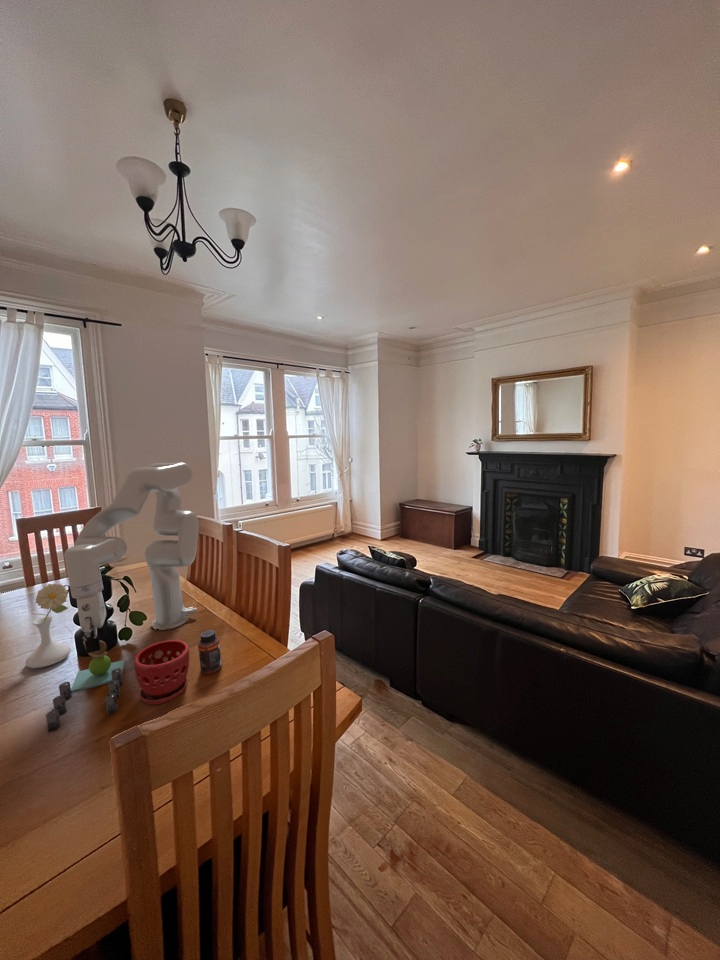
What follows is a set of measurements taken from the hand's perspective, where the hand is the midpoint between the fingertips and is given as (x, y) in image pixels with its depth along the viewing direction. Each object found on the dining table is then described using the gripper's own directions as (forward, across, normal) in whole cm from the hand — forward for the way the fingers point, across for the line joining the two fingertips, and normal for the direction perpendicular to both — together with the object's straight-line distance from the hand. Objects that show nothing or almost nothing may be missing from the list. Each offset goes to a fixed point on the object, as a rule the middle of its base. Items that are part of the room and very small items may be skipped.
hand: (96, 642), depth 113 cm
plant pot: (+10, -19, -17) cm, 28 cm away
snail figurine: (+10, -1, +1) cm, 10 cm away
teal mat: (+10, -1, +1) cm, 10 cm away
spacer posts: (+10, -14, +1) cm, 17 cm away
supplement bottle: (+11, -14, -29) cm, 34 cm away
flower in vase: (+11, +17, +16) cm, 26 cm away
